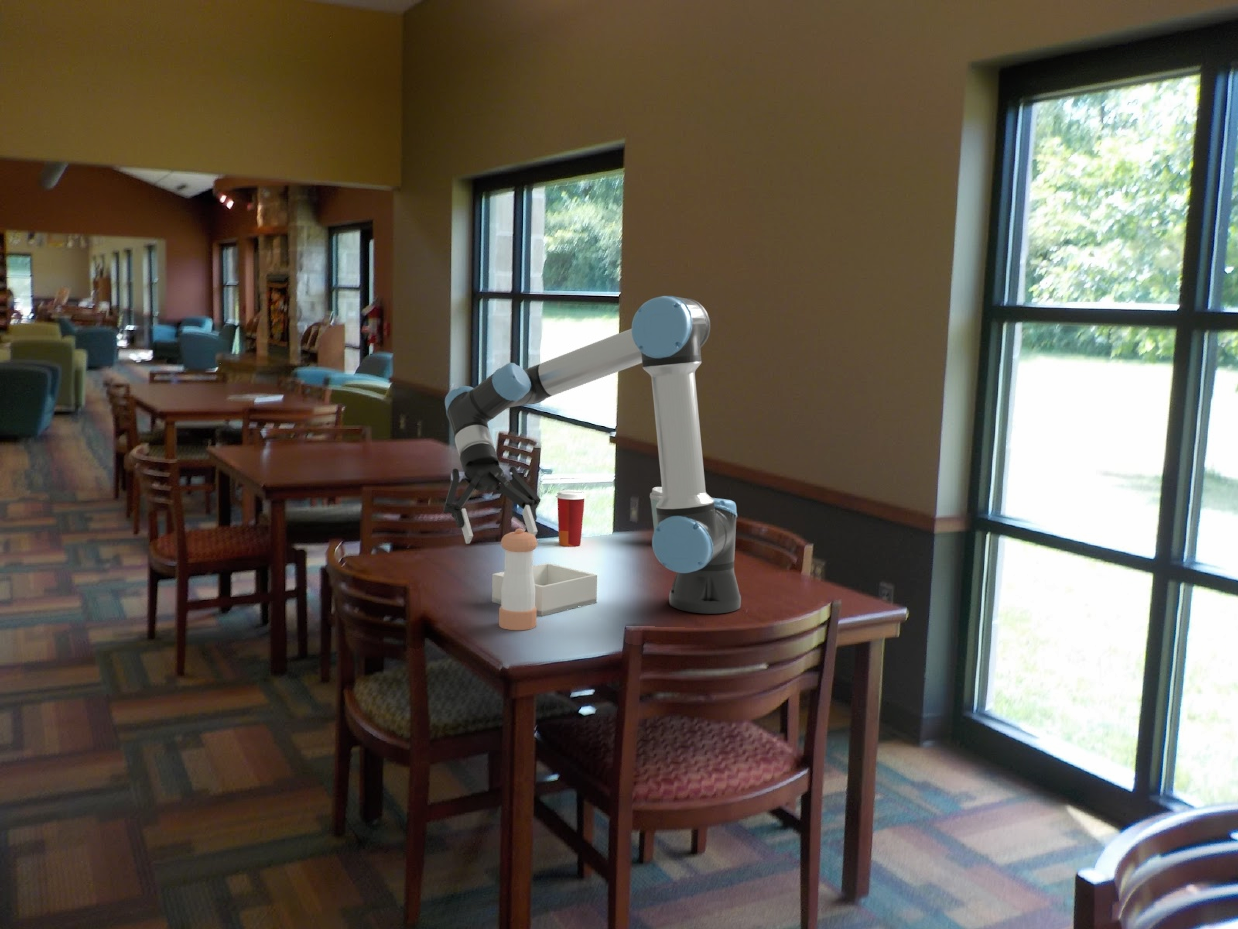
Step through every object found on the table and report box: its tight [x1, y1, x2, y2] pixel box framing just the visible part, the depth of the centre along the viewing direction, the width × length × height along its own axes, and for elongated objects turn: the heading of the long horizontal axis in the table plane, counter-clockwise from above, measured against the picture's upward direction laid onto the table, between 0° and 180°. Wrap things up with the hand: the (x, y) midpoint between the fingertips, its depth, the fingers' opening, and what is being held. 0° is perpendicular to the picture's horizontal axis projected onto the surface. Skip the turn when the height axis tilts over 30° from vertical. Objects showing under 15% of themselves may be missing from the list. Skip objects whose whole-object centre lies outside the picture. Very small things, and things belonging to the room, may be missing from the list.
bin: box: [491, 562, 598, 617], centre depth 238 cm, size 15×16×6 cm
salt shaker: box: [498, 528, 538, 631], centre depth 219 cm, size 7×7×19 cm
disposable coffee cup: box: [649, 486, 663, 532], centre depth 300 cm, size 11×11×15 cm
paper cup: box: [555, 489, 586, 548], centre depth 297 cm, size 8×8×14 cm
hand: (502, 537), depth 224 cm, fingers open, 13 cm apart
